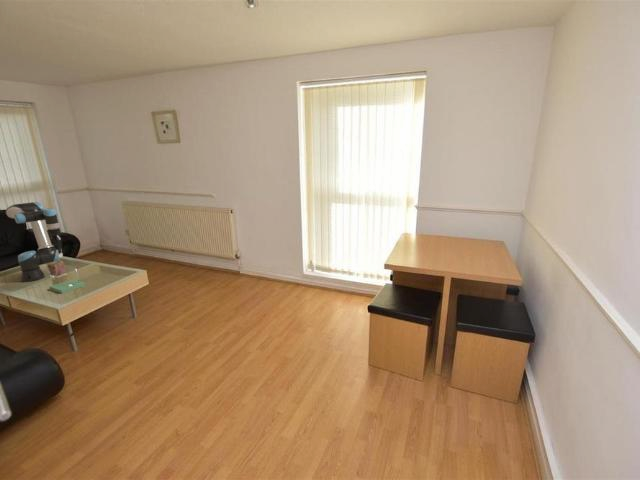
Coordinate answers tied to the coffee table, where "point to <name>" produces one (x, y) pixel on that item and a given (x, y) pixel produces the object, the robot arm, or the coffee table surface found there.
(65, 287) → the green board
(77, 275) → the pin
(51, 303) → the coffee table surface
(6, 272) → the coffee table surface
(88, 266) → the coffee table surface
